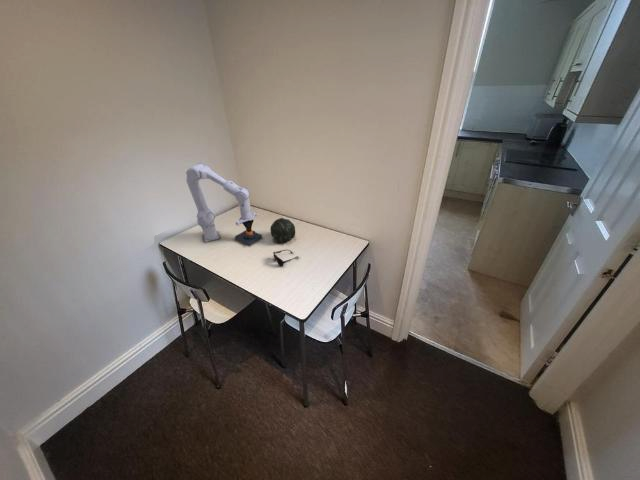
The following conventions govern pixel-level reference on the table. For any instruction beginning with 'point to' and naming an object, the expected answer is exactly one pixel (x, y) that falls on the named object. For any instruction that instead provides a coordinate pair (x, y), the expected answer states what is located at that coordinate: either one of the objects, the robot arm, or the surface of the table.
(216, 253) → the table surface
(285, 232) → the squash
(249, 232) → the orange button
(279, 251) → the sunglasses
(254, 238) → the dark blue button base
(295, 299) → the table surface
